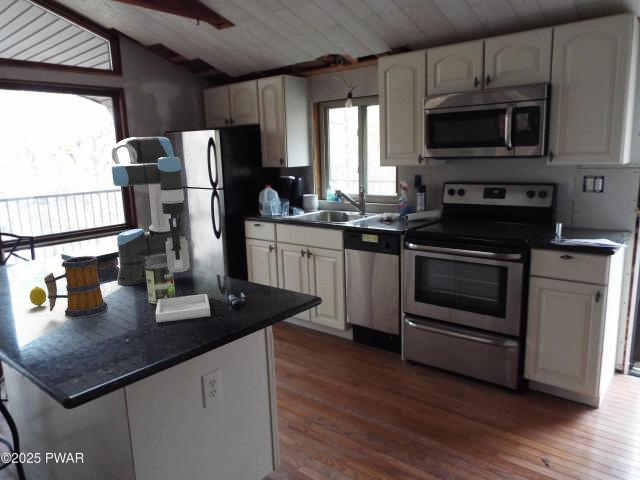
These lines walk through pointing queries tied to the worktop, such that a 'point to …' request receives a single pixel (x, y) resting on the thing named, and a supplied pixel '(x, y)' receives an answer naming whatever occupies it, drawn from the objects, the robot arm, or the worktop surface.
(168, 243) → the can
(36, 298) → the lemon
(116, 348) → the worktop surface
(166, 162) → the robot arm
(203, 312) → the tray
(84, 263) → the mug
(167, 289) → the coffee can
